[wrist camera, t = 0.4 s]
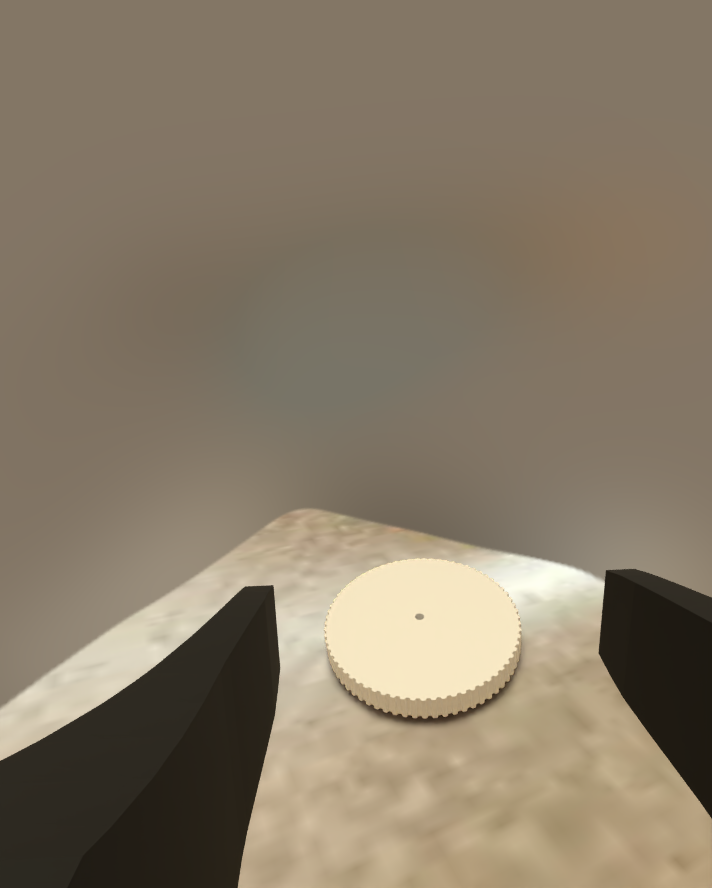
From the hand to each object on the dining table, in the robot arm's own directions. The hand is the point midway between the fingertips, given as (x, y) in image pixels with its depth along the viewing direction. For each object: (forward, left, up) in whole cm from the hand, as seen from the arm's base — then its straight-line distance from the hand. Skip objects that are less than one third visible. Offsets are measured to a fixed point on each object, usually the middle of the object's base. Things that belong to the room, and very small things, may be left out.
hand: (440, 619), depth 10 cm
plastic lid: (+20, 0, -21) cm, 29 cm away
